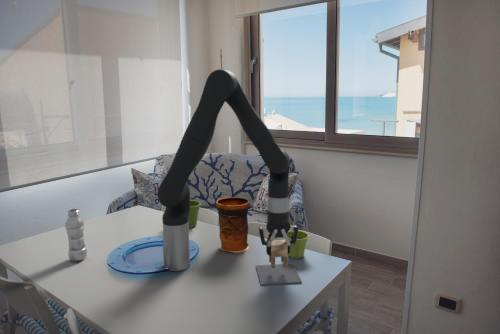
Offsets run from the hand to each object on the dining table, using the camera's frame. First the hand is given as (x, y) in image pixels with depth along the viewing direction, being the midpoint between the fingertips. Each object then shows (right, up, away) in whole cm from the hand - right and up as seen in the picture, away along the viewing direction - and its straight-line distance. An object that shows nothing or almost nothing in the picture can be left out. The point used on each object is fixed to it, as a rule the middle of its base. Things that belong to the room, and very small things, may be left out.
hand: (278, 254), depth 132 cm
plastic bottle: (-77, -5, +15) cm, 78 cm away
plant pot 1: (-40, +2, +52) cm, 65 cm away
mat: (0, -7, +2) cm, 7 cm away
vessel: (-17, -3, +27) cm, 31 cm away
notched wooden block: (0, -3, +1) cm, 4 cm away
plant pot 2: (+8, -5, +17) cm, 20 cm away
